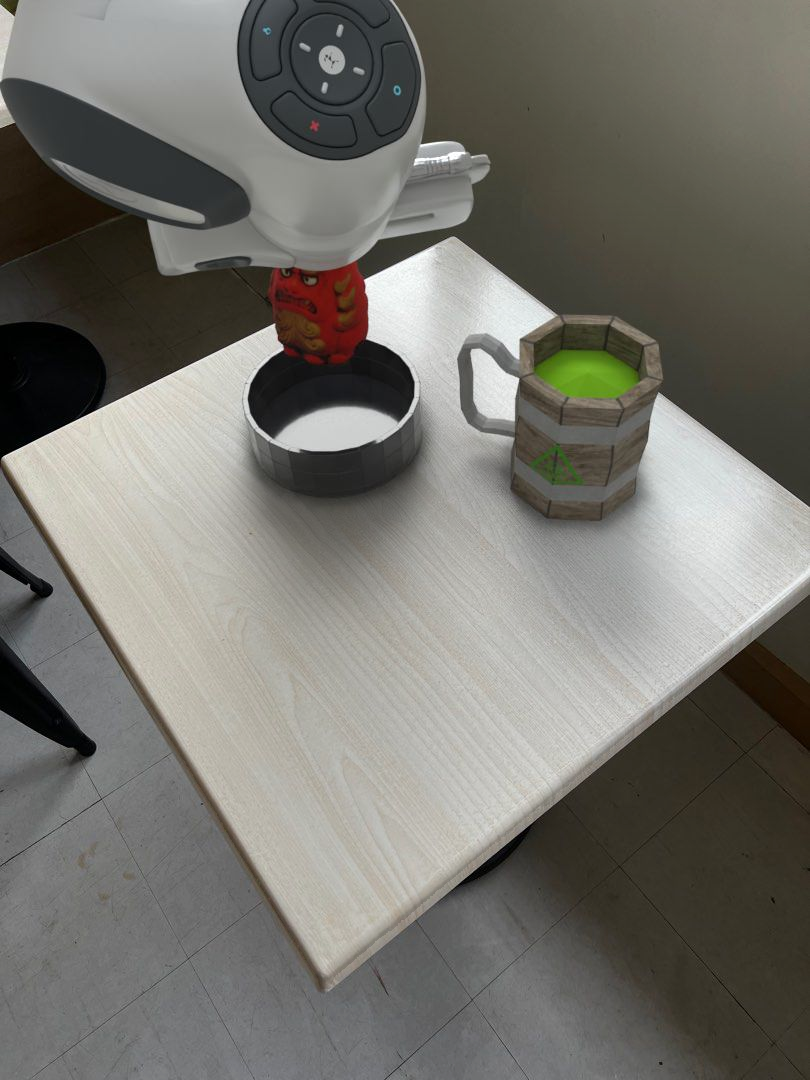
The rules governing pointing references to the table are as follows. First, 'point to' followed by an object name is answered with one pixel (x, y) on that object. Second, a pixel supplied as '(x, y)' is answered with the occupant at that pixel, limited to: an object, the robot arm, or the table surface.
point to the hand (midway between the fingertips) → (309, 240)
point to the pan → (334, 420)
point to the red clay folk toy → (320, 313)
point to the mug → (573, 411)
